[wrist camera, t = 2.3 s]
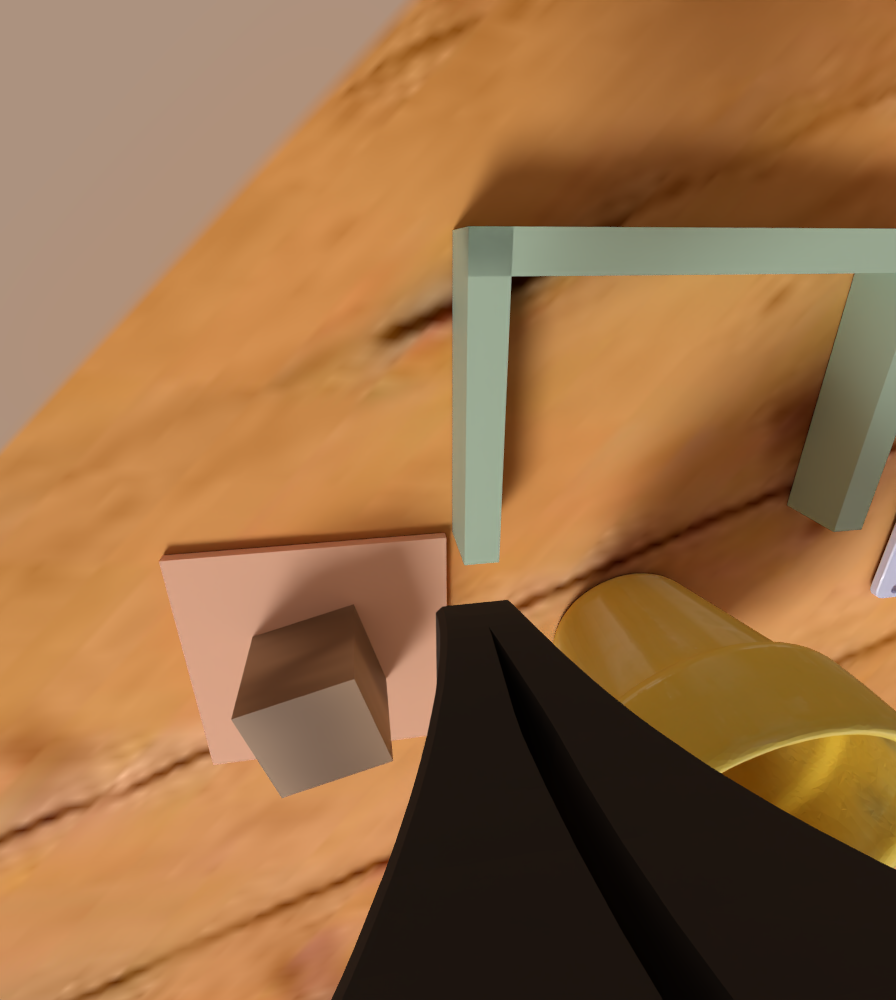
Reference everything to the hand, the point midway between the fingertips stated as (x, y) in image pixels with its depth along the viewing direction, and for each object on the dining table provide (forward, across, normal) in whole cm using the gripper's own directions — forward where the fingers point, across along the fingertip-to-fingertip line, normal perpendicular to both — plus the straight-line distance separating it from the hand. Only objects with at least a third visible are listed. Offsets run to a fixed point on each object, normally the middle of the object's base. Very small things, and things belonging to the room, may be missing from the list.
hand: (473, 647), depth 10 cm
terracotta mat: (+10, +4, +8) cm, 13 cm away
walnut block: (+10, +4, +8) cm, 13 cm away
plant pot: (+10, -9, +9) cm, 16 cm away
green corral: (+10, -9, -2) cm, 14 cm away
